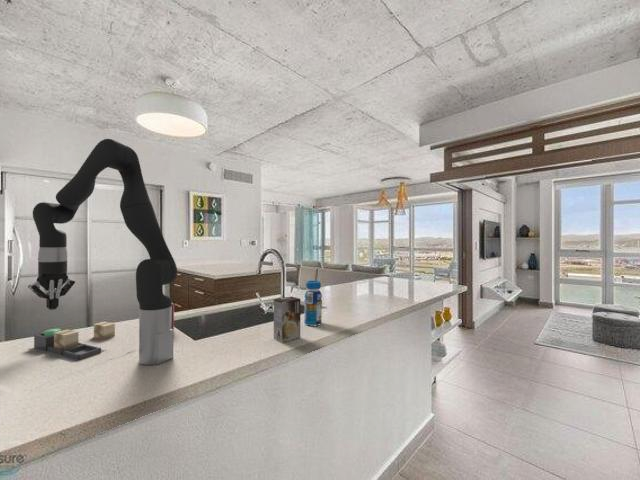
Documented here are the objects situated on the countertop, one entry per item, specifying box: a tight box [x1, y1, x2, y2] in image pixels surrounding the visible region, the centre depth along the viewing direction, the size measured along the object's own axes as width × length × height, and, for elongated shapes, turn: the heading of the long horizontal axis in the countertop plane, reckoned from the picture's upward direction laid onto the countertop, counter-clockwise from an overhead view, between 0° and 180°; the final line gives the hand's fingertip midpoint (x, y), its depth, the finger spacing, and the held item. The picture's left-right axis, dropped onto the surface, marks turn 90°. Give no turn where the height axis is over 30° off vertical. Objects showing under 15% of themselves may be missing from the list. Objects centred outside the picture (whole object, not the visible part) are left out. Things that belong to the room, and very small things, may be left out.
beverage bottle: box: [303, 280, 323, 327], centre depth 136 cm, size 8×8×20 cm
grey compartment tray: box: [27, 329, 107, 363], centre depth 99 cm, size 25×10×6 cm, turn 68°
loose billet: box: [93, 321, 116, 340], centre depth 112 cm, size 6×4×6 cm, turn 68°
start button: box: [43, 328, 62, 337], centre depth 102 cm, size 4×4×3 cm
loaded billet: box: [54, 329, 79, 350], centre depth 99 cm, size 6×4×6 cm, turn 68°
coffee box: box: [273, 296, 301, 343], centre depth 116 cm, size 9×6×16 cm
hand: (52, 309), depth 102 cm, fingers closed
